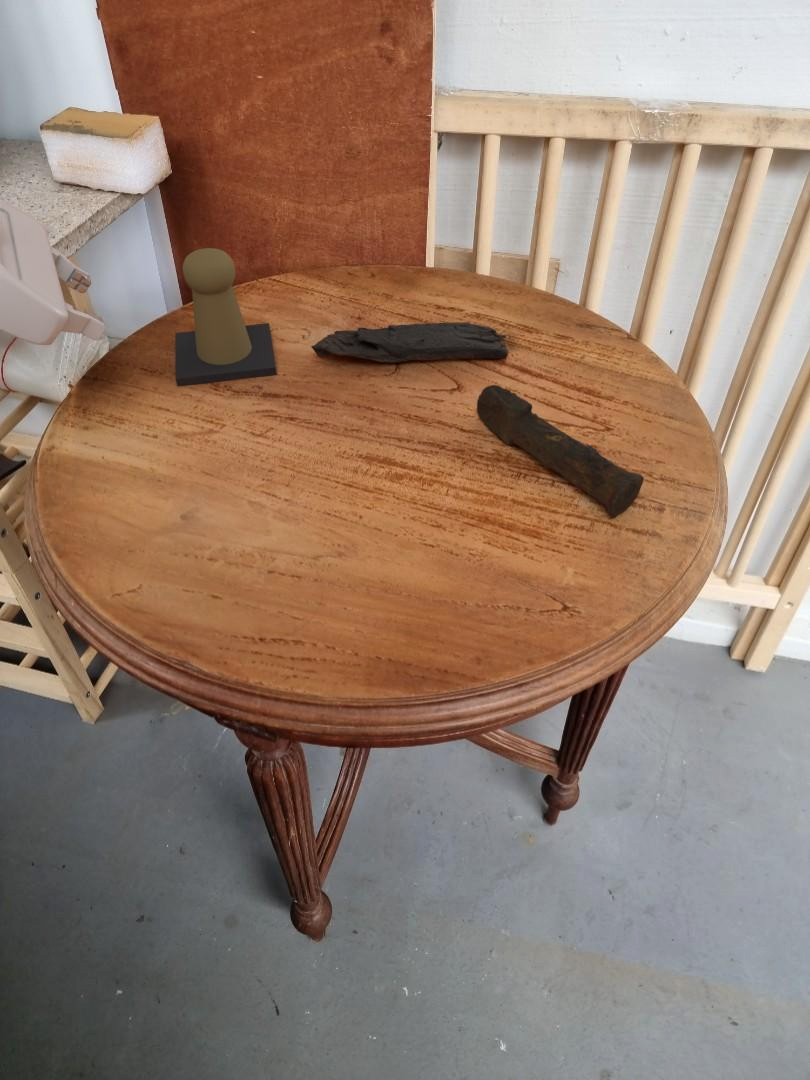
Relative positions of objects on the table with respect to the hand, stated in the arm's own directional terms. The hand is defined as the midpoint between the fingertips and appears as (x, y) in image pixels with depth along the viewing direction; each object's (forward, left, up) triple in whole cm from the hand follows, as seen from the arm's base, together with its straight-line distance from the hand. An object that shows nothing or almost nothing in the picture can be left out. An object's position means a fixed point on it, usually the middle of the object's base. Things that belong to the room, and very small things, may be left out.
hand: (94, 307), depth 76 cm
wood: (+32, 0, -9) cm, 33 cm away
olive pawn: (+11, +3, -8) cm, 14 cm away
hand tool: (+40, -21, -9) cm, 47 cm away
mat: (+11, +3, -9) cm, 15 cm away
